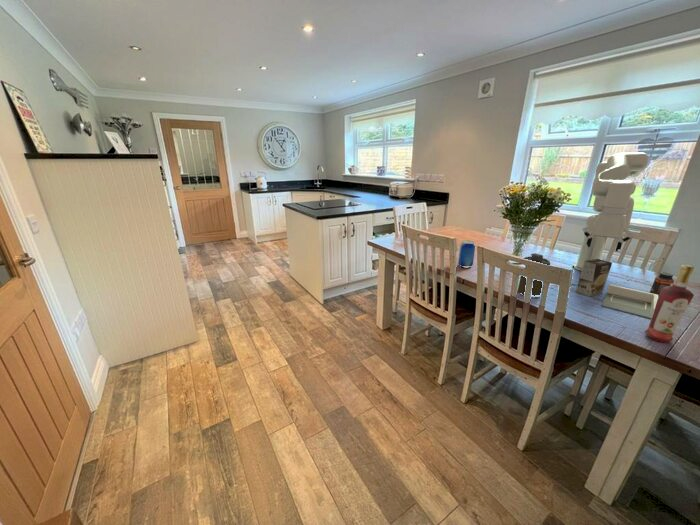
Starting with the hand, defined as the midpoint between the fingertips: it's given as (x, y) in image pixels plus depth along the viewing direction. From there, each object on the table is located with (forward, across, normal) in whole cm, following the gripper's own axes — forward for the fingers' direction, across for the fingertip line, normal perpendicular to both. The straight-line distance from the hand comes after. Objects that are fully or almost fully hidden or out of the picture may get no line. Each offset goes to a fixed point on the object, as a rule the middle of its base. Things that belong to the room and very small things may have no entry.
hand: (602, 248), depth 125 cm
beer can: (+23, -59, -5) cm, 64 cm away
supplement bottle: (+23, +23, +17) cm, 36 cm away
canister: (+23, -20, -19) cm, 36 cm away
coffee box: (+23, 0, +1) cm, 23 cm away
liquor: (+23, +23, -28) cm, 43 cm away
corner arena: (+23, +14, -3) cm, 27 cm away
